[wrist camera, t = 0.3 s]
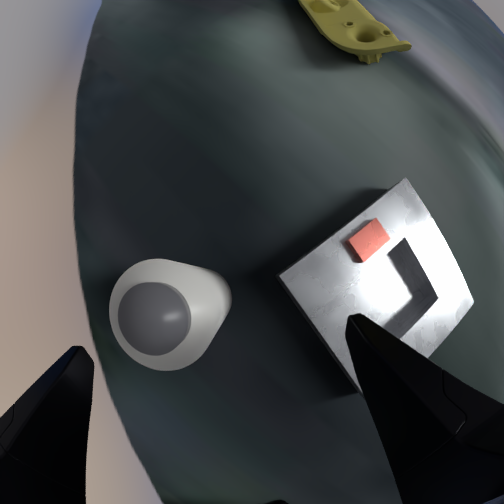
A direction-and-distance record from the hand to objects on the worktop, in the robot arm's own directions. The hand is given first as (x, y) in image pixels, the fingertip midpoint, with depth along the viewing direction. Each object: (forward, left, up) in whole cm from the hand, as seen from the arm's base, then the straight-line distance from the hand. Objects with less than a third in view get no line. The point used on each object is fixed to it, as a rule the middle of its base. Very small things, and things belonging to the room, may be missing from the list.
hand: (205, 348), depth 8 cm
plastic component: (+20, -32, -15) cm, 41 cm away
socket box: (-7, -11, -15) cm, 20 cm away
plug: (+2, +2, -15) cm, 15 cm away
